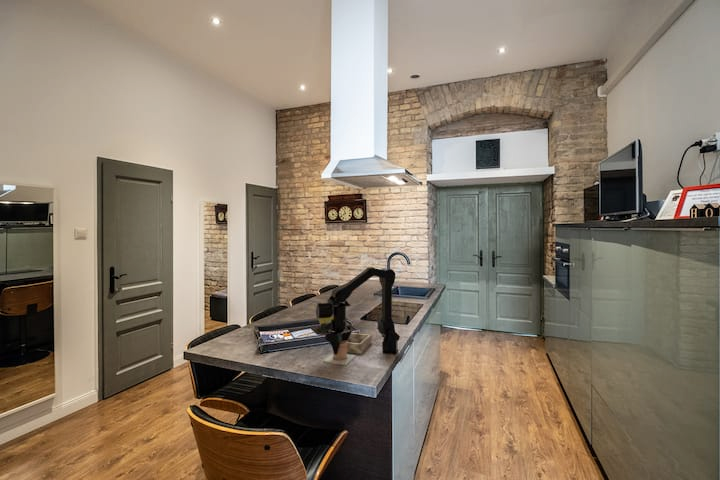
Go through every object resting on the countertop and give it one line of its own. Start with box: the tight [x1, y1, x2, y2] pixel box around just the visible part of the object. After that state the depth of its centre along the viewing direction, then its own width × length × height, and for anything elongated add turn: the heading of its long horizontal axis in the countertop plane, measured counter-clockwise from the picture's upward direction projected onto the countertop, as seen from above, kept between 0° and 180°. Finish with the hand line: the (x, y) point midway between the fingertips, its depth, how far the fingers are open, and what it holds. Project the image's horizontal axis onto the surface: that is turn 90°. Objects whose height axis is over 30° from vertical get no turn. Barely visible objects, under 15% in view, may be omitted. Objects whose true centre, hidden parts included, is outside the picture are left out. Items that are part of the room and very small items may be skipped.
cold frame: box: [347, 332, 373, 355], centre depth 169 cm, size 13×16×4 cm
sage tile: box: [323, 353, 356, 366], centre depth 152 cm, size 11×11×1 cm
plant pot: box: [317, 315, 333, 326], centre depth 200 cm, size 10×10×10 cm
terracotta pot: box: [332, 340, 348, 361], centre depth 152 cm, size 7×7×7 cm
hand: (339, 351), depth 152 cm, fingers open, 9 cm apart
